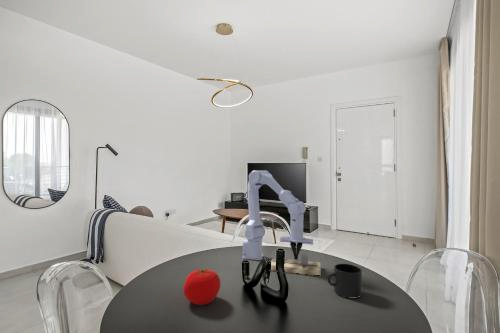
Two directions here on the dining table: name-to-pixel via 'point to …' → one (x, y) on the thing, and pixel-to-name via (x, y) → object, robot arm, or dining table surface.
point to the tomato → (201, 286)
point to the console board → (298, 267)
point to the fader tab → (304, 259)
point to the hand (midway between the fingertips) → (296, 259)
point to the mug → (347, 280)
